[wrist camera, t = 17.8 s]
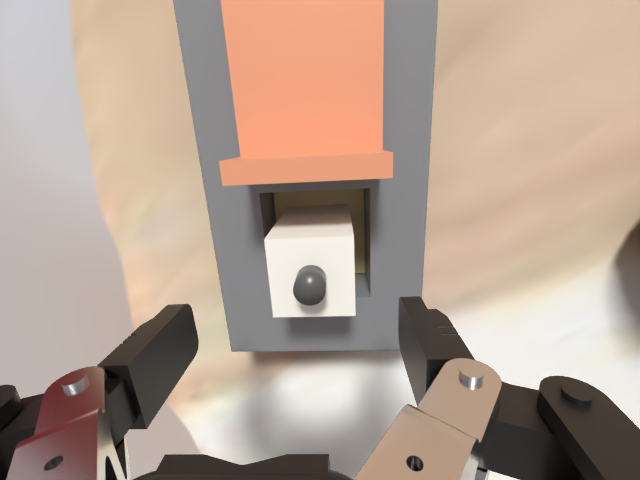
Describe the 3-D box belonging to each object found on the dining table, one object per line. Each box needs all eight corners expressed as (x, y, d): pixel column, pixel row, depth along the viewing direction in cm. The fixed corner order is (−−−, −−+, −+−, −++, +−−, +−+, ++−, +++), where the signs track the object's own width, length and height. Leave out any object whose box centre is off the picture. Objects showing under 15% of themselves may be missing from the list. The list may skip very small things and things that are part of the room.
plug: (348, 203, 20) (355, 245, 12) (350, 260, 21) (357, 330, 14) (287, 206, 21) (257, 248, 13) (292, 262, 22) (267, 332, 14)
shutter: (380, 169, 16) (392, 178, 12) (246, 175, 16) (222, 185, 13) (382, -34, 13) (397, -93, 10) (222, -20, 14) (184, -72, 10)
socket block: (405, 315, 23) (418, 349, 19) (248, 317, 24) (231, 351, 20) (417, -3, 17) (440, -43, 13) (205, 14, 18) (169, -19, 14)
